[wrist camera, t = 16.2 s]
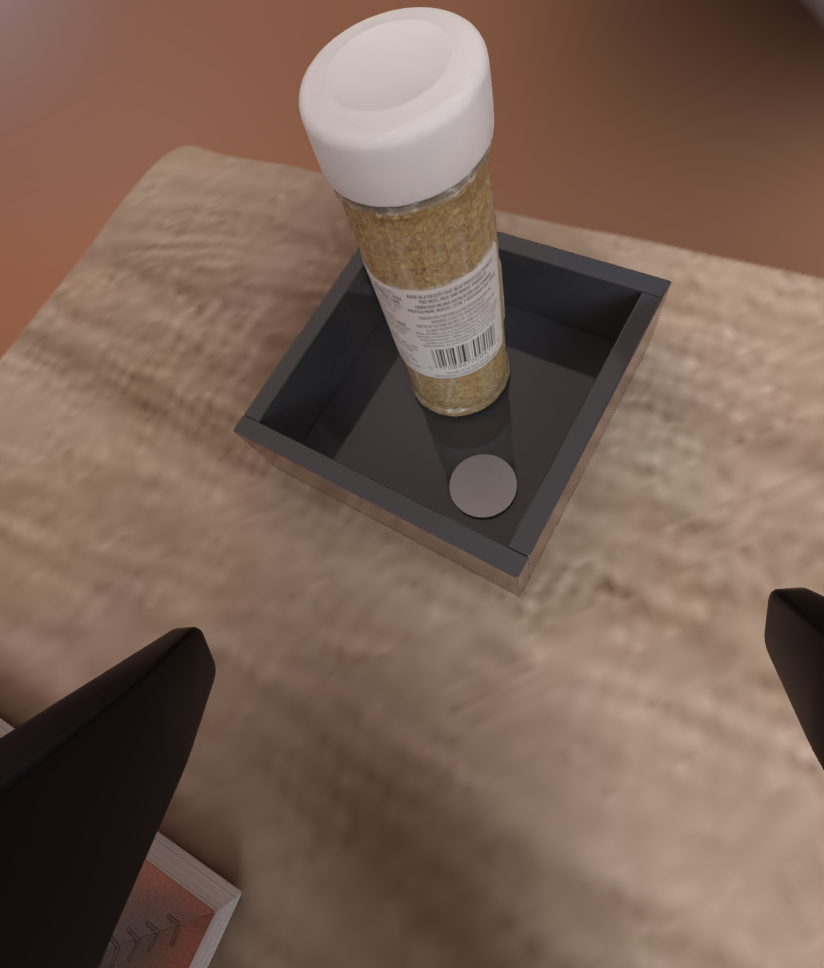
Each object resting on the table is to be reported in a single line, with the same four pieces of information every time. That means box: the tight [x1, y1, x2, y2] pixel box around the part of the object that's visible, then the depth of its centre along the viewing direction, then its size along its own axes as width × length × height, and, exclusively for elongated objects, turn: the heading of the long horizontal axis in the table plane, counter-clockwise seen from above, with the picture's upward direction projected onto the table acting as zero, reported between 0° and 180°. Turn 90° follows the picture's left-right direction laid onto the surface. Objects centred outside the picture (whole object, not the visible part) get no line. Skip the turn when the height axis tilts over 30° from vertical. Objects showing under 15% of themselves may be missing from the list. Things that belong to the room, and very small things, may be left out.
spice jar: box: [299, 7, 510, 417], centre depth 18 cm, size 5×5×13 cm
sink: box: [233, 232, 671, 597], centre depth 23 cm, size 13×13×4 cm
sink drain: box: [449, 454, 517, 519], centre depth 22 cm, size 3×3×1 cm
